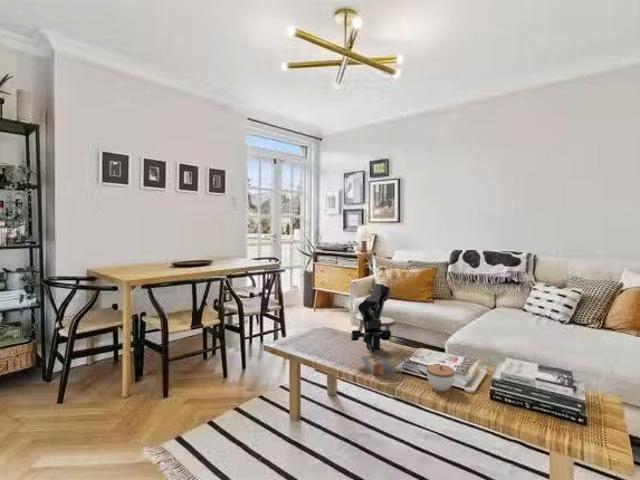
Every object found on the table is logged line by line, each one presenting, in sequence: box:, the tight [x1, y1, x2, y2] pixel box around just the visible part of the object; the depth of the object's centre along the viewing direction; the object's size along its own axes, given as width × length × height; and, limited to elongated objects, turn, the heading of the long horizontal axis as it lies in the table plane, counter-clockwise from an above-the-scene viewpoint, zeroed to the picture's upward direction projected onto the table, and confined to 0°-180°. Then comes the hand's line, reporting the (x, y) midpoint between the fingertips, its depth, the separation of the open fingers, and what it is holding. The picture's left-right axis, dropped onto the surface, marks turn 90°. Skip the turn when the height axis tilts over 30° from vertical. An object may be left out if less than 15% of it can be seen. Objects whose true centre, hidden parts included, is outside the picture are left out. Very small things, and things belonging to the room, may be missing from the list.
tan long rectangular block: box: [368, 355, 384, 376], centre depth 166 cm, size 4×4×10 cm
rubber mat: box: [360, 355, 396, 375], centre depth 173 cm, size 12×20×1 cm, turn 4°
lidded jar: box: [426, 364, 456, 392], centre depth 150 cm, size 11×11×9 cm
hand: (373, 351), depth 172 cm, fingers closed
